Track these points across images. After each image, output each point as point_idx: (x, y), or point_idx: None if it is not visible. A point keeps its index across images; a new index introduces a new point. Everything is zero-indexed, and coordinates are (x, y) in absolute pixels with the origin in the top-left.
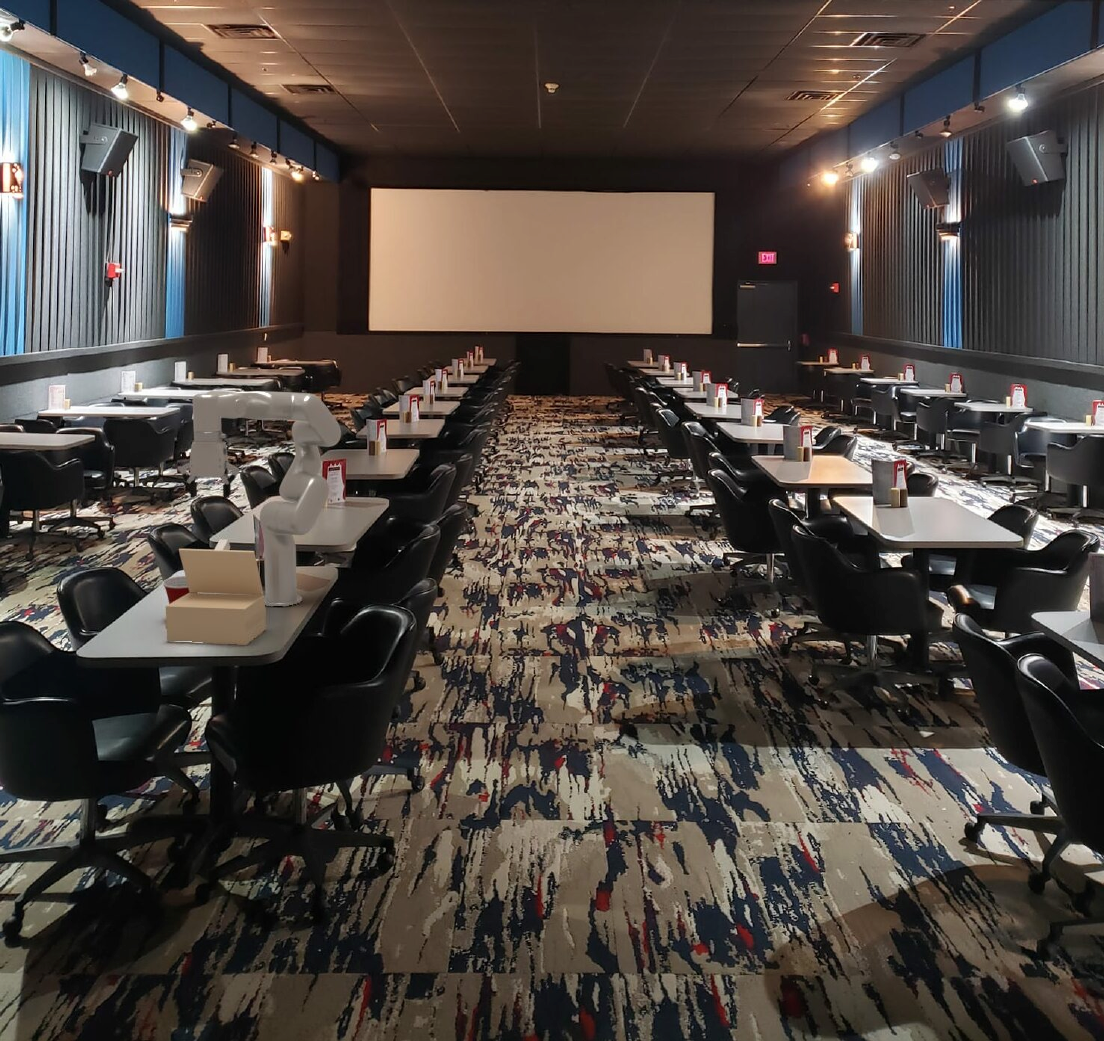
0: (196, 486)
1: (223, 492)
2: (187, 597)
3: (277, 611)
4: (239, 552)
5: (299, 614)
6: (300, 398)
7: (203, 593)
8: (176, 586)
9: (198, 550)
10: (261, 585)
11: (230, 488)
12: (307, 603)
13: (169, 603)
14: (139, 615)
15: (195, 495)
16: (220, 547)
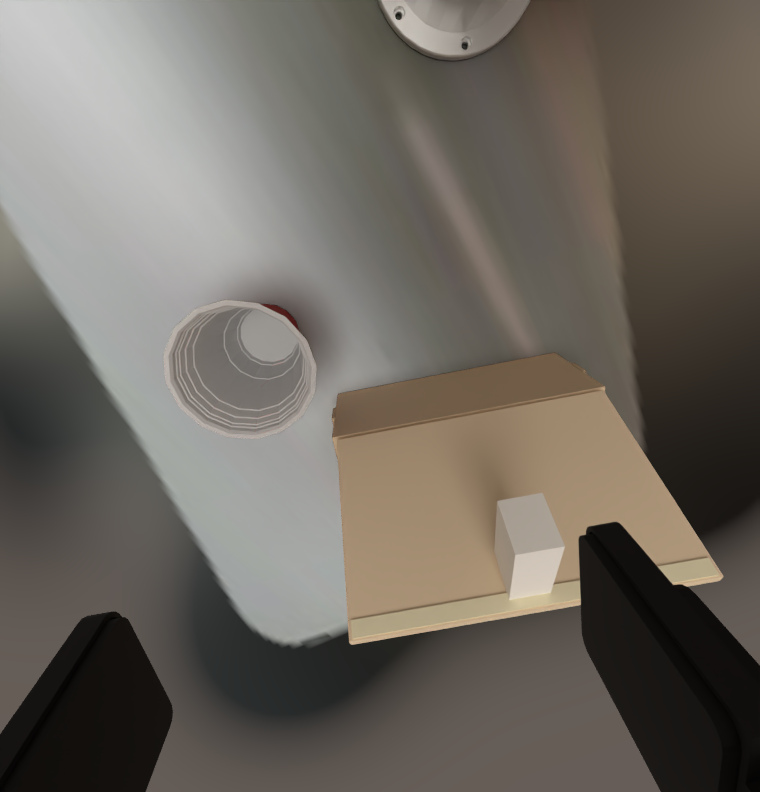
0: (37, 770)
1: (626, 714)
2: None
3: (499, 120)
4: None
5: (590, 136)
6: None
7: (384, 429)
8: (196, 332)
9: (446, 627)
10: (620, 418)
11: (750, 663)
12: None
13: (232, 383)
14: (103, 328)
15: (139, 661)
16: (536, 581)
